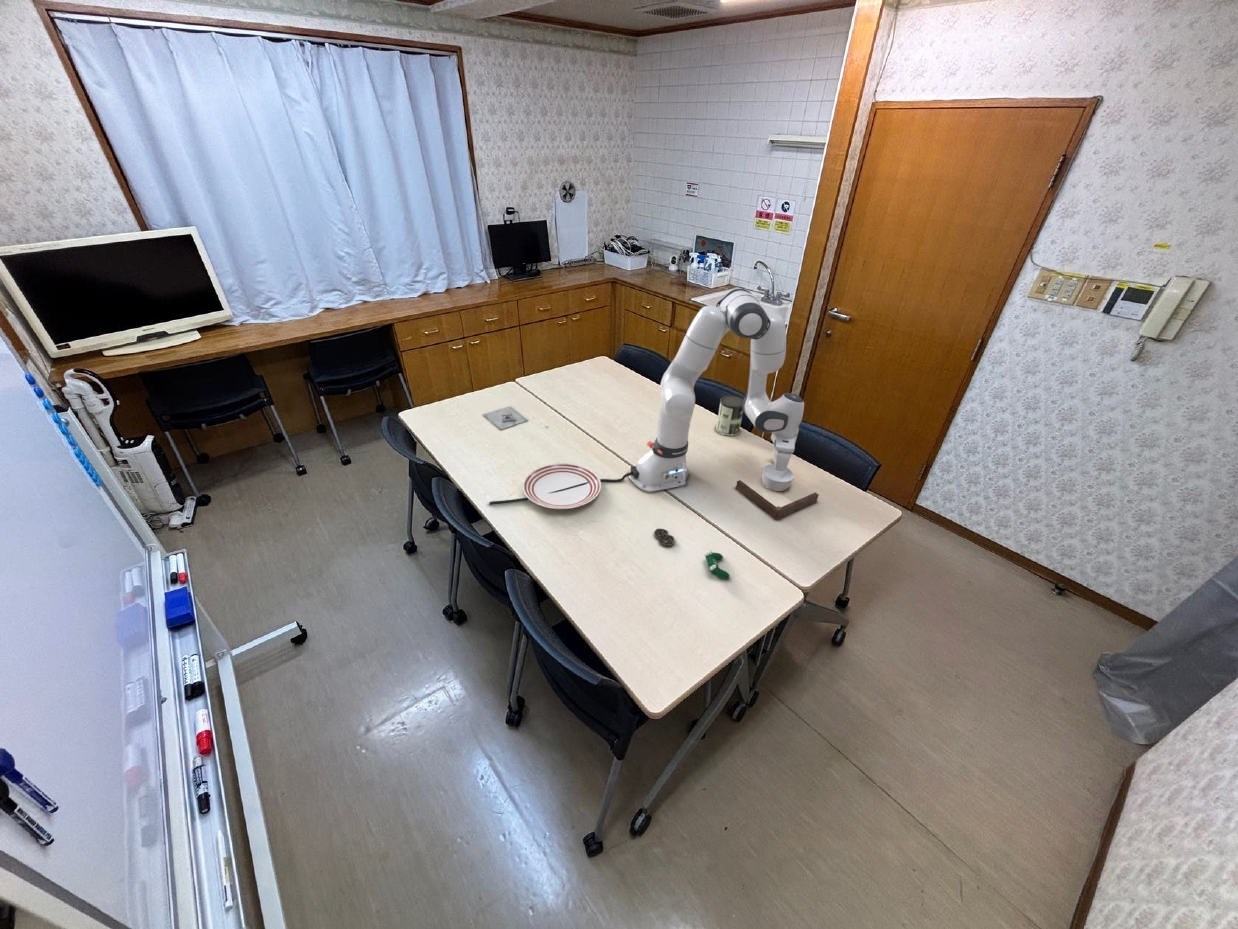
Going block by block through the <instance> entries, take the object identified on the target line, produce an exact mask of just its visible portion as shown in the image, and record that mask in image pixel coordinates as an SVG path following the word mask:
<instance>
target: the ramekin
mask: <svg viewBox="0 0 1238 929" xmlns="http://www.w3.org/2000/svg"><path fill="white" fill-rule="evenodd" d="M761 473H762V474H761V475H762V478H761V480H762V484H763V485H764V486H765V487H766V488H768V489H769V490H771V491H775V492H782V491H785V490H787V489H789V487H790V486H791V483H792V482H793V480H794V479H795V474H794V472H793V470H791V469H790V468H789V467H787V468H786V470H785V471H778V470H775V464H774V463H770V464H765V465H764V466H763V467H762V471H761Z"/></svg>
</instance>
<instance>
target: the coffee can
mask: <svg viewBox="0 0 1238 929" xmlns="http://www.w3.org/2000/svg"><path fill="white" fill-rule="evenodd" d="M743 400H744V398H742V397H740V396H735V395H724V396H722V397H720V400H719V408H718V414H717V420H716V427H715V430H716V432H717V433H718V434H720V435H723V436H727V437H729V436H730V437H731V436H732V437H733V436H737V435H738V434H739V433H740V430H741V424H742V420H743V414H744V412H743V410H742V403H743Z"/></svg>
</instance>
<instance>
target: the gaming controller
mask: <svg viewBox="0 0 1238 929" xmlns="http://www.w3.org/2000/svg"><path fill="white" fill-rule="evenodd" d="M704 557H705V560H706V563H707V566H708V569H709V570H708V571H709V572H710V573H711V574H712V575H713V576H715V577H717V578H721V579H727V580H728V579H729V578H730V573H728V572H727V571H725V570H724V569H722V568H720V567H719V564H718V562H720V561H722V560H723V559H724V556H723V554H722V553H720V552H712V550H709V551H707V552H705V553H704Z"/></svg>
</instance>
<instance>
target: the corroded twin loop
mask: <svg viewBox="0 0 1238 929" xmlns="http://www.w3.org/2000/svg"><path fill="white" fill-rule="evenodd" d="M653 533H654V534H653V535H654V536H655V538H656V539H659V543H660V544H661V545H663V546H669V547H670V546H673V544H675V543H674V542H675V537H674V536H673V535H671V534H669V531H668V530H667V529H665V528H656V529H655V530H654V532H653Z"/></svg>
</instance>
